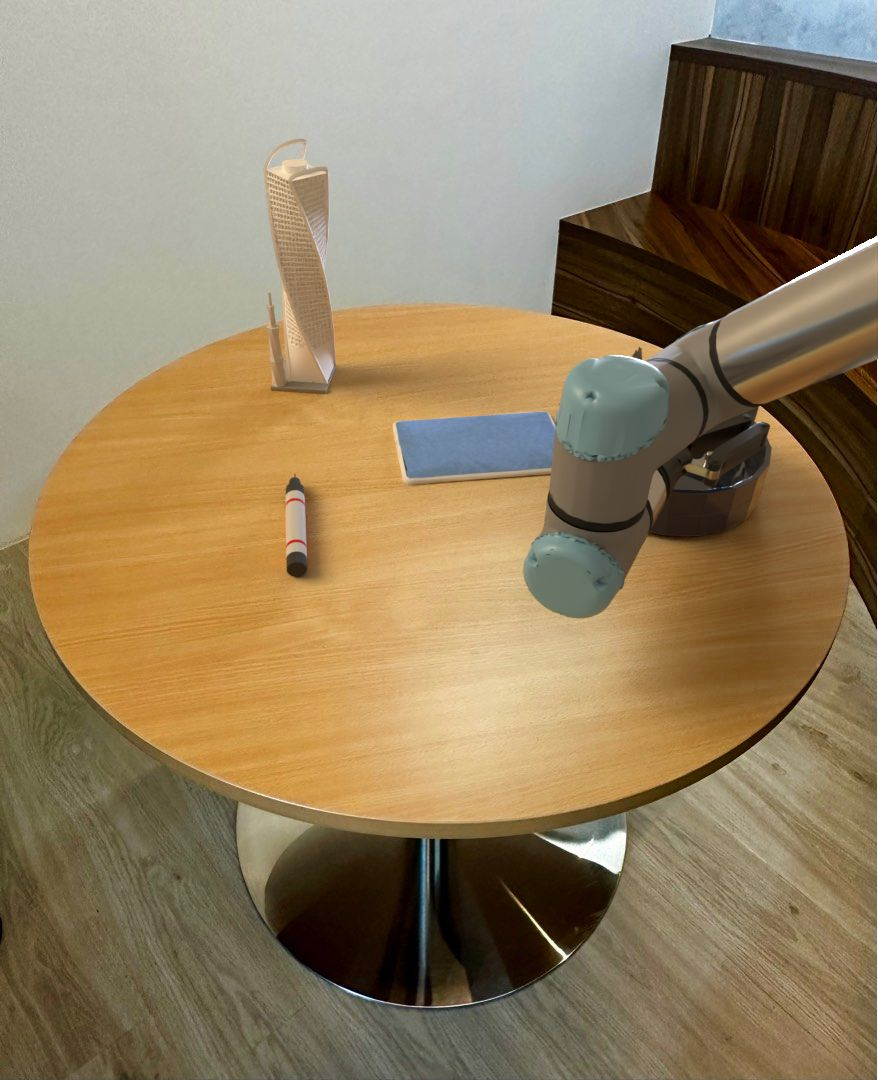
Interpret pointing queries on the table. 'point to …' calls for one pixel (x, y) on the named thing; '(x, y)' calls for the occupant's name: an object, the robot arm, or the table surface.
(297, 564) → the marker
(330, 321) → the skyscraper
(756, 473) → the dark grey dish
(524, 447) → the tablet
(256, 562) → the table surface
